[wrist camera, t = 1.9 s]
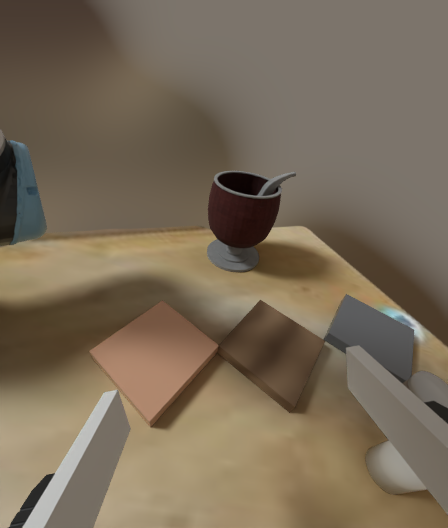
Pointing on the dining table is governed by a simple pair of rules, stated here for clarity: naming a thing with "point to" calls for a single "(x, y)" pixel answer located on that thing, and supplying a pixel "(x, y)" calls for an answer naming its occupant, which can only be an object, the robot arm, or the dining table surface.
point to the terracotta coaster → (154, 359)
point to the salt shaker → (391, 470)
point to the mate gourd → (241, 217)
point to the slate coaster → (373, 336)
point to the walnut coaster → (272, 353)
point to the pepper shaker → (428, 387)
